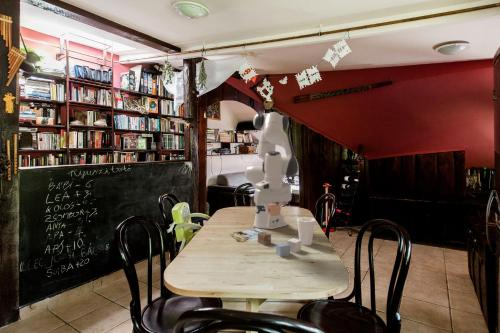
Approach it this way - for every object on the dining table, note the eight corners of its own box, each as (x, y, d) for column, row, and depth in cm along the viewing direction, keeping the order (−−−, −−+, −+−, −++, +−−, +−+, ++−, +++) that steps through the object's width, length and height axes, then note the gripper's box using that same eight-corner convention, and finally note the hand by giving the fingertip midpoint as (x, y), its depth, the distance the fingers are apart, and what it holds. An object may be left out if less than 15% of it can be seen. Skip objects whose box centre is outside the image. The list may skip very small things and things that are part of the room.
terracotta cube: (274, 213, 150) (274, 203, 149) (280, 215, 145) (280, 205, 145) (266, 214, 148) (266, 204, 147) (271, 216, 143) (271, 206, 143)
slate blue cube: (285, 251, 143) (285, 242, 143) (289, 255, 138) (290, 245, 138) (276, 253, 142) (276, 243, 141) (280, 257, 137) (280, 246, 136)
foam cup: (304, 247, 148) (304, 222, 147) (293, 242, 157) (293, 218, 156) (318, 244, 153) (318, 220, 152) (307, 239, 161) (307, 216, 160)
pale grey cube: (292, 247, 149) (292, 238, 148) (301, 250, 145) (301, 240, 145) (287, 250, 145) (287, 240, 145) (295, 252, 142) (295, 242, 141)
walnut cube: (265, 240, 159) (265, 231, 159) (270, 243, 155) (270, 234, 155) (257, 242, 156) (257, 233, 156) (263, 245, 152) (263, 235, 152)
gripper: (287, 181, 153) (286, 207, 154) (252, 184, 143) (252, 212, 145) (294, 183, 147) (293, 210, 148) (258, 186, 138) (258, 214, 139)
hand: (273, 211), depth 146 cm, fingers closed on terracotta cube, 5 cm apart
